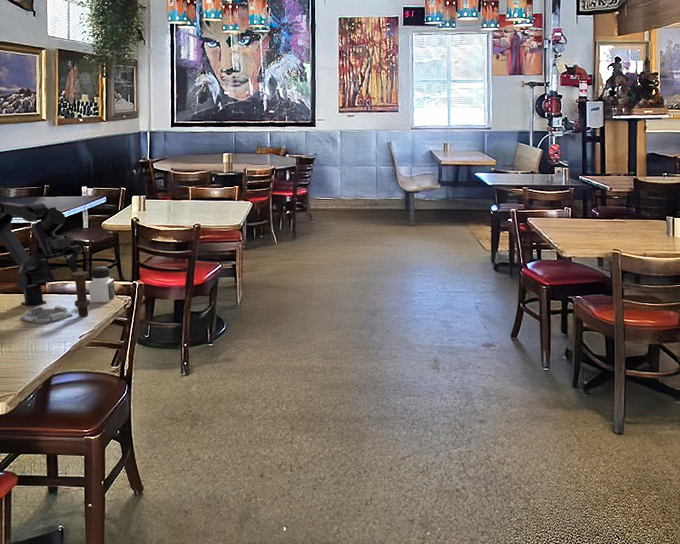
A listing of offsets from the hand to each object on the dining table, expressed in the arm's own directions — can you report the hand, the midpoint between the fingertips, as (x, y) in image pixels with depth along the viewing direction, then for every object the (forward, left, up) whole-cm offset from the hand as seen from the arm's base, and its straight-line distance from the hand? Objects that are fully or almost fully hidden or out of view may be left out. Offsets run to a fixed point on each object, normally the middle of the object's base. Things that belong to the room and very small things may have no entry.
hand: (64, 278), depth 276 cm
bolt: (+9, 0, -12) cm, 15 cm away
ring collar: (0, -9, -12) cm, 15 cm away
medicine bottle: (-3, +17, -12) cm, 21 cm away
